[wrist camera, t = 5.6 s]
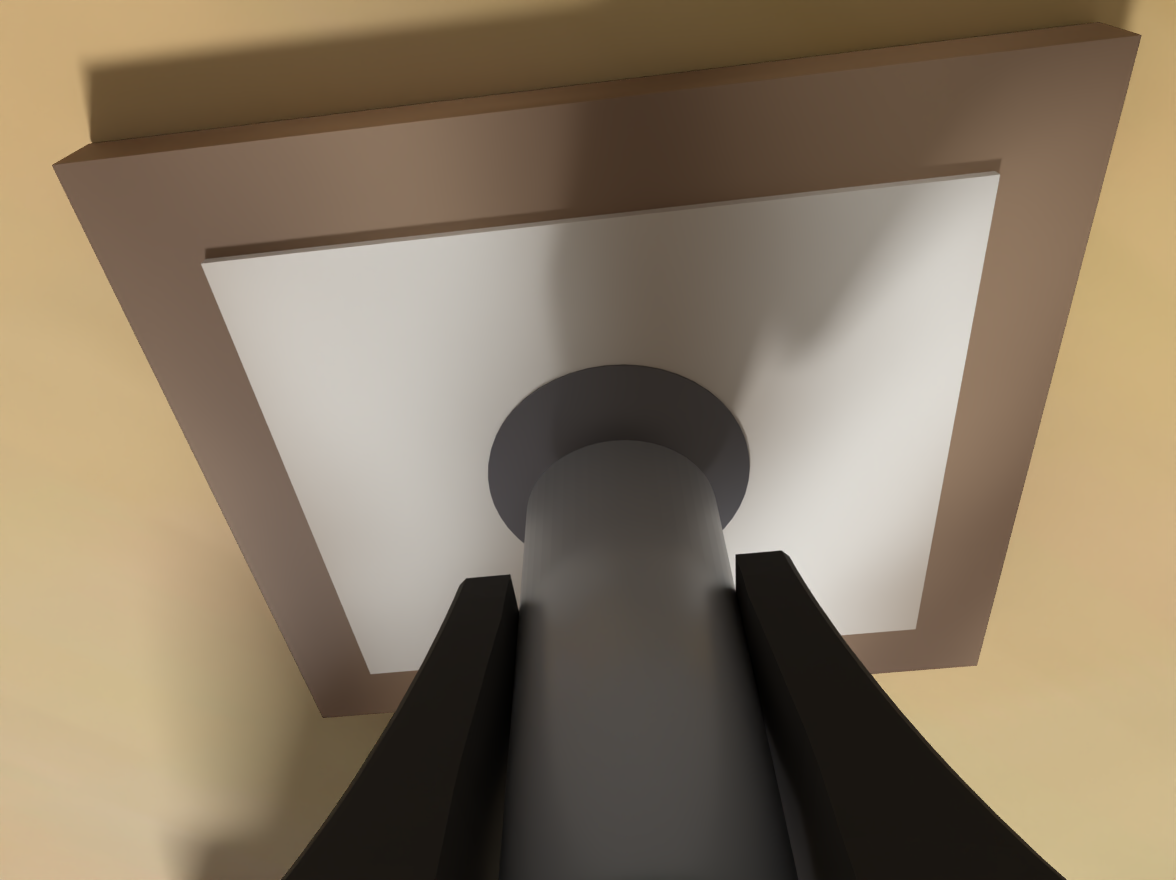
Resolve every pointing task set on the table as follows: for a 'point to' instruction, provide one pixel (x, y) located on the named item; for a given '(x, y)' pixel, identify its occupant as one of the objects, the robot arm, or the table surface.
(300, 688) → the table surface
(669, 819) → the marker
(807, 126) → the sketch board
